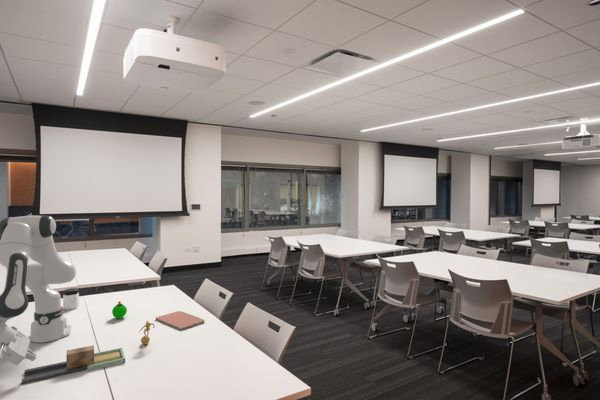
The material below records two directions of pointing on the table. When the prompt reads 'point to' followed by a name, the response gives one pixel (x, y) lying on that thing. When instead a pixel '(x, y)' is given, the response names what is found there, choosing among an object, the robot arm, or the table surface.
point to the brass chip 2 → (113, 356)
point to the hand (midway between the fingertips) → (34, 358)
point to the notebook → (180, 320)
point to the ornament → (119, 310)
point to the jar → (71, 299)
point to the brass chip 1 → (100, 359)
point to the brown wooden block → (80, 357)
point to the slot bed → (49, 372)
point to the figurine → (145, 338)
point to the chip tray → (108, 363)
